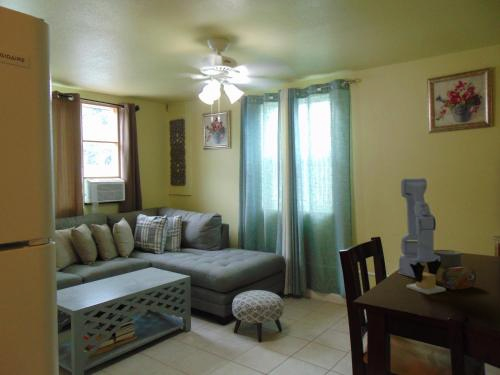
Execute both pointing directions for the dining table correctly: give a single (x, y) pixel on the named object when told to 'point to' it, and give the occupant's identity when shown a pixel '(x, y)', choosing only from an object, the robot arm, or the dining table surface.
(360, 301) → the dining table surface
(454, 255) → the can
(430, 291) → the base plate
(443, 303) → the dining table surface
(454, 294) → the dining table surface
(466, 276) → the tin
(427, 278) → the yellow-orange cube block
